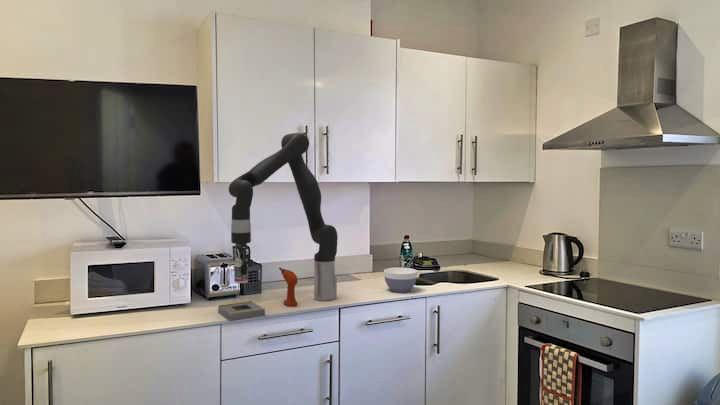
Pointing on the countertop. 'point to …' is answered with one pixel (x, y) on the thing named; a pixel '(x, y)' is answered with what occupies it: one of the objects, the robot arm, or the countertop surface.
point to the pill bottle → (239, 273)
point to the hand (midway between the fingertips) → (241, 273)
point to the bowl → (400, 279)
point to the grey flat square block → (241, 310)
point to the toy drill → (290, 287)
